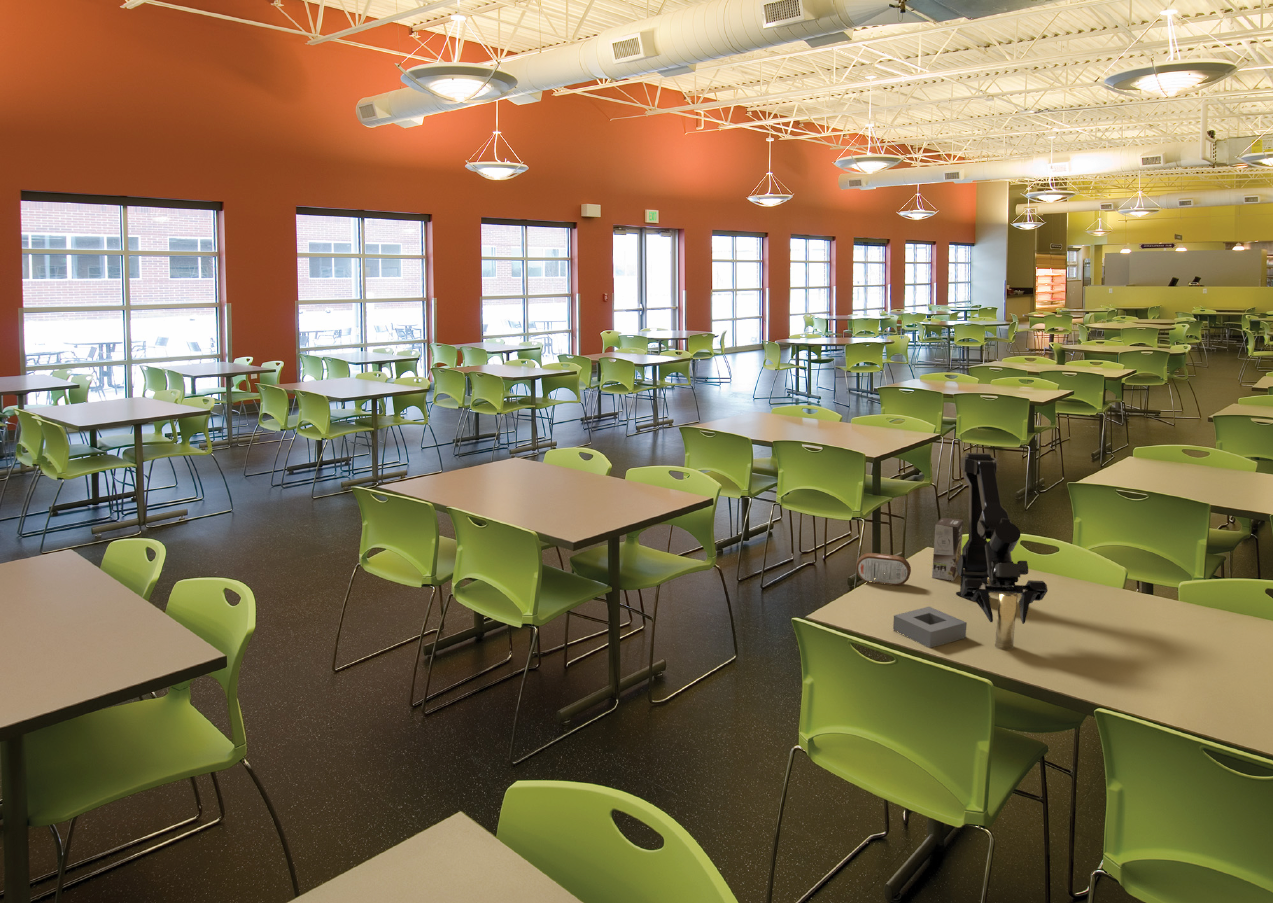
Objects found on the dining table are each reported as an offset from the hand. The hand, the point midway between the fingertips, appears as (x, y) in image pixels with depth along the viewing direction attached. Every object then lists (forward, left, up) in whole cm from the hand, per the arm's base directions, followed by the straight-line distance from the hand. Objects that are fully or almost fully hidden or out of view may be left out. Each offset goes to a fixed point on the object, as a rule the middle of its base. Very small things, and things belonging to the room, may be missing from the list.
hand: (1007, 622), depth 214 cm
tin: (-48, +7, -7) cm, 49 cm away
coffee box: (-44, +28, -7) cm, 53 cm away
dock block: (-15, -9, -7) cm, 19 cm away
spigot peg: (-1, +1, -7) cm, 7 cm away
